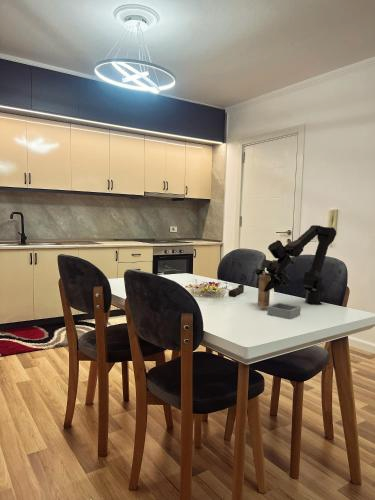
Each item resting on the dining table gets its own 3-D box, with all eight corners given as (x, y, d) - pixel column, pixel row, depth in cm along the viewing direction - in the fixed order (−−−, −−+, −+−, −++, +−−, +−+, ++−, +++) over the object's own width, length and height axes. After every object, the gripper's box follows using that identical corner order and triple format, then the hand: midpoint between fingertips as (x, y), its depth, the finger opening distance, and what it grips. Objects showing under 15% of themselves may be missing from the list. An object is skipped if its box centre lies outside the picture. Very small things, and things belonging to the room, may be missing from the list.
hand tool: (235, 298, 197) (235, 289, 196) (227, 296, 198) (228, 288, 198) (247, 292, 213) (248, 284, 213) (241, 291, 215) (241, 283, 215)
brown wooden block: (263, 304, 175) (265, 274, 173) (269, 305, 172) (270, 275, 170) (257, 304, 173) (259, 274, 172) (263, 306, 170) (264, 276, 168)
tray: (278, 310, 171) (278, 302, 170) (300, 314, 164) (300, 306, 164) (267, 314, 163) (267, 306, 162) (290, 319, 156) (290, 310, 156)
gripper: (258, 251, 180) (239, 275, 175) (287, 255, 164) (267, 282, 159) (270, 267, 185) (251, 291, 180) (299, 272, 169) (279, 298, 164)
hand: (261, 290), depth 171 cm, fingers closed on brown wooden block, 4 cm apart
